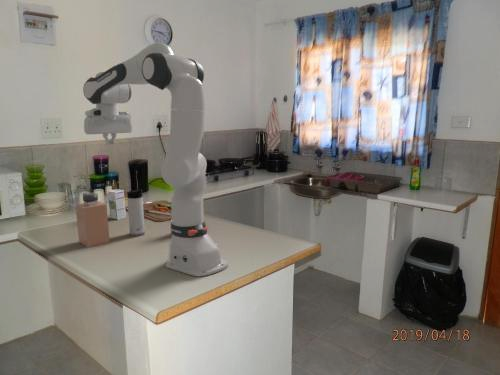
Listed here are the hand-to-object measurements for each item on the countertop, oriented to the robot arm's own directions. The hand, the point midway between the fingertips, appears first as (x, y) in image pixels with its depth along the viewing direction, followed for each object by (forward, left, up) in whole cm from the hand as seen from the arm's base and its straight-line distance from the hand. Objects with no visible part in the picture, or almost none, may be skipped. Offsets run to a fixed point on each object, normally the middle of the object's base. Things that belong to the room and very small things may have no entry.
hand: (110, 144), depth 168 cm
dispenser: (-9, +14, -39) cm, 43 cm away
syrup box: (+20, -10, -39) cm, 45 cm away
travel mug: (-12, -4, -39) cm, 41 cm away
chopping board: (+17, -33, -40) cm, 55 cm away
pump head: (-7, +14, -31) cm, 35 cm away
